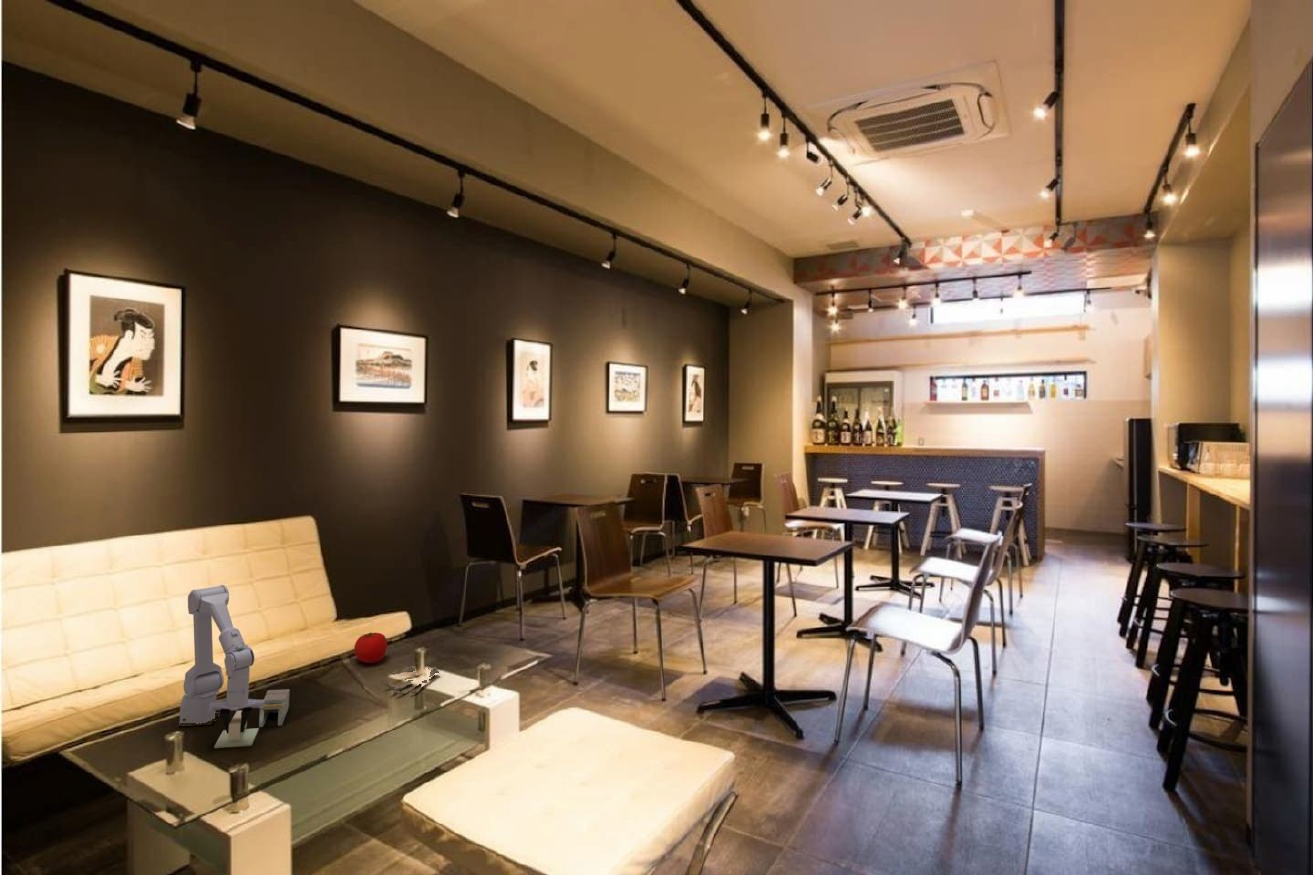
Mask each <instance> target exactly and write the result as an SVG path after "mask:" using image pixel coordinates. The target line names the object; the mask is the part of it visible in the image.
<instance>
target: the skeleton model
mask: <svg viewBox="0 0 1313 875" xmlns="http://www.w3.org/2000/svg"><path fill="white" fill-rule="evenodd" d="M416 668H417V667H415V666H407V667H405V668H401V669H400V668H399V669H396V670H394V671H392V672H391V674H392V675H399V674H403V673H404V674H405V673H414V672H413V671H415V669H416ZM427 668H428V669H429V668H430V667H427ZM429 670H431V672H430V676H429V677H431V676H433V675H434V674H435V673H439V672H440V671H439V669H438V667H436V666H435V667H433V668H430V669H429ZM439 674H440V673H439ZM411 681H413V680H408V681H407V682H406V683H411ZM426 682H427V680H424V681H422V683H426ZM381 683H382V684H383V685H385V686H386V687H388V688H389V689H390V691H394V693H395V694H398V695H405V694H406V695H407V694H408V693H409V694H410V693H411V694H413V695H414V694H417V693H420V692H421V691H420V688H418V689H416V691H414V690H412V688H411V686H409V688H408V689H405V690H404V691H400V690H401V689H404V688H406V683H405V684H403V685H401V686H395V685H392V684H391V685H390V684H388V683H387V682H385V681H384V680H381Z"/></svg>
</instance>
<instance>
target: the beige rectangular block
mask: <svg viewBox="0 0 1313 875" xmlns="http://www.w3.org/2000/svg"><path fill="white" fill-rule="evenodd" d="M241 712H242V710H236V711H235V713H234V715H233V717H231V721H230V723H229V732H228V740H238V739H240V737H241V735H242V733H241V731H240V730H241ZM247 726H248V721H247V722H246V725H245V729H247Z"/></svg>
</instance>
